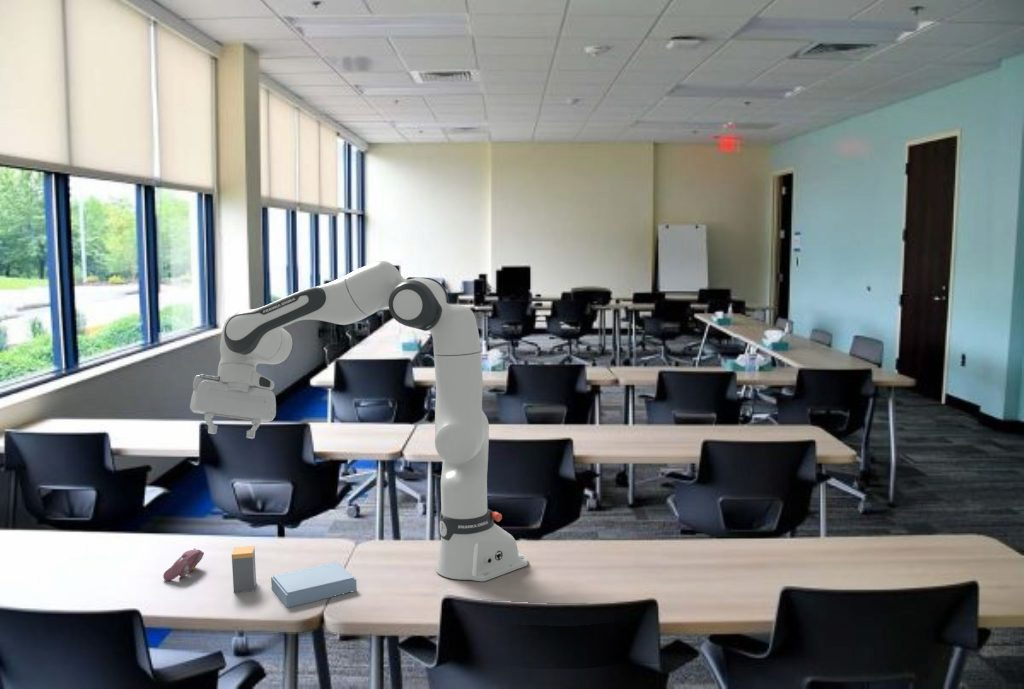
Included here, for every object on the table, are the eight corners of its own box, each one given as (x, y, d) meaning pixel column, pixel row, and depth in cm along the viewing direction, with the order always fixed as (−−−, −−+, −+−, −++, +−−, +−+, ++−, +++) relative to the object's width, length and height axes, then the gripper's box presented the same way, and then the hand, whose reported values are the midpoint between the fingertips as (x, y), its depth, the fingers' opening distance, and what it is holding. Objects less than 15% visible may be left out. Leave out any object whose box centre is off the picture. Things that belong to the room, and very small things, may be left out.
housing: (236, 584, 194) (234, 547, 193) (256, 582, 195) (254, 545, 194) (233, 592, 190) (231, 554, 189) (254, 590, 191) (252, 552, 189)
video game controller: (176, 588, 196) (186, 564, 195) (160, 579, 196) (170, 554, 195) (199, 572, 206) (210, 548, 204) (184, 563, 206) (194, 539, 205)
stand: (338, 573, 200) (338, 560, 199) (356, 591, 190) (356, 577, 189) (271, 588, 191) (271, 575, 191) (286, 607, 181) (286, 593, 181)
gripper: (199, 369, 194) (193, 427, 190) (280, 383, 207) (277, 438, 203) (188, 375, 198) (183, 432, 194) (269, 388, 211) (265, 442, 207)
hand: (231, 435), depth 198 cm, fingers open, 8 cm apart
